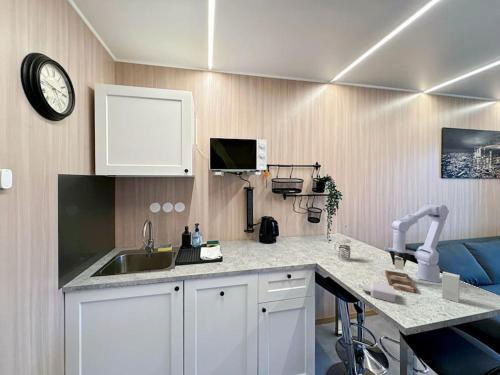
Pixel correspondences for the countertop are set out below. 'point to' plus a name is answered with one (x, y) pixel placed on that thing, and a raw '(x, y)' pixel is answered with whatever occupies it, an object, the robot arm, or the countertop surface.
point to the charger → (380, 291)
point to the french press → (342, 256)
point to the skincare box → (450, 286)
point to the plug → (399, 263)
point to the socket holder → (400, 281)
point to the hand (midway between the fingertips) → (398, 265)
